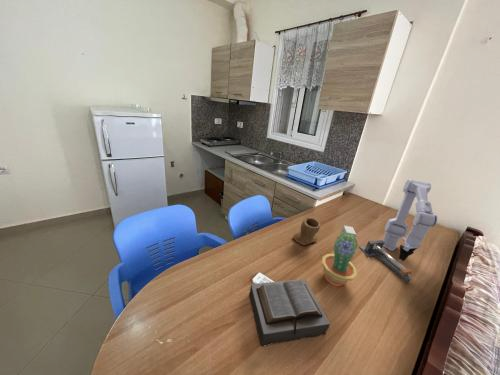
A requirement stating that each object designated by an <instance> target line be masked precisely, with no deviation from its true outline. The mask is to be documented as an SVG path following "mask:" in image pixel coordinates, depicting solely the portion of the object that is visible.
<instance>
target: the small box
mask: <svg viewBox="0 0 500 375" xmlns="http://www.w3.org/2000/svg"><path fill="white" fill-rule="evenodd" d="M343 233H347V234H349V233H351V235H354V236H355V238H356V237H357V233H356V230H355V229H354V227H353V226H349V225H342V229H341V231H340V234H339V236H340V235H341V234H343Z"/></svg>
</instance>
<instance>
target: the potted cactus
mask: <svg viewBox="0 0 500 375" xmlns="http://www.w3.org/2000/svg"><path fill="white" fill-rule="evenodd" d="M340 234H341V233H340ZM340 234H339V235H338V236H337V237H336V240H335V241H334V246H333V253H327V254H325V255H323V256H322V261H321V262H322V263H321V264H322V267H323V272H324V278H325V280H326V281H327V282H328V283H329V284H331V285H333V286H336V287H342V286H343V285H344V284H347V283H348V282H349V281H352V280H353V279H355V277H357V276H358V273H357V272H358V271H357V268H356V267H355V265H354V264H353V263H352V262H351V261H350V260H352V258H353V257H354V256H355V253H356V252H357V247H358V245H359V244H358V241H357V238H356V237H355V236H354V235H351V233H349V234H347V233H343V234H341V235H340Z"/></svg>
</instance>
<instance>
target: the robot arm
mask: <svg viewBox="0 0 500 375" xmlns="http://www.w3.org/2000/svg"><path fill="white" fill-rule="evenodd" d="M431 188H432V184H431V183H430V182H426V181H420V180H417V179H412V178H409V179H407V180H406V182H405V183H404V185H403V189H402V192H404V196H403V198H402V201H401V203H400V205H399V208H398V210H397V213H396V216H395V217H394V218H389V219H388V221H387V222H386V223H385V226H384V231H385V234H384V236H383V237H382V239H381V240H382V241H383V242H385V243H384V245H383V247H384V248H385V249H387V250H389V251H390V252H393V251H395V250H396V249H397V248H398V247H399V255H398V259H399V260H401V261H402V262H404V261H406V260H407V258H408V257H410V256H411V255H413V254H414V253H415V252H414V251H416V250H417V249H419V248H420V247H421V244H422V242H423V240H424V239H425V236H427V233H428V232H429V230H430V229H431V228H432V227H435V226H436V225H437V221H438V216H437V214H435V213H434V211H433V208H432V203H431V201H428V194H429V192H430V191H431ZM415 198H416V200H417V202H416V203H415V210H416V211H415V212H416V214H415V215H414V219H413V222H412V227H411V228H410V230H409V232H408V229H409V225H408V224H407V222H406V219H407V218H408V215H409V212H410V210H411V208H412V206H413V203H414V201H415ZM407 233H408V234H407ZM406 235H407V236H406ZM405 236H406V237H405ZM400 239H401V240H402V241H403V242H404V245H402V244H400V245H399V246H398V243H399V241H400ZM383 247H382V248H383Z"/></svg>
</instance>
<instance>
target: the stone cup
mask: <svg viewBox="0 0 500 375" xmlns="http://www.w3.org/2000/svg"><path fill="white" fill-rule="evenodd" d="M320 227H321V224H320V221H319V220H318V219H316V218H314V217H306V218H304V219H303V221H302V222H301V225H300V231H299V232H296V233H295V234H293V236H292V237H293V239H294V240H295V241H296V242H297V243H299V244H300V245H302V246H306V245H309V244H312V243H314V242H317V241H318V240H319V239H318V237H317V235H316V234H318V232H319V231H320Z"/></svg>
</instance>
